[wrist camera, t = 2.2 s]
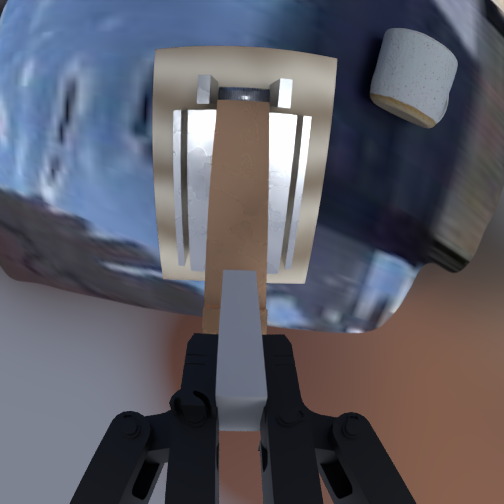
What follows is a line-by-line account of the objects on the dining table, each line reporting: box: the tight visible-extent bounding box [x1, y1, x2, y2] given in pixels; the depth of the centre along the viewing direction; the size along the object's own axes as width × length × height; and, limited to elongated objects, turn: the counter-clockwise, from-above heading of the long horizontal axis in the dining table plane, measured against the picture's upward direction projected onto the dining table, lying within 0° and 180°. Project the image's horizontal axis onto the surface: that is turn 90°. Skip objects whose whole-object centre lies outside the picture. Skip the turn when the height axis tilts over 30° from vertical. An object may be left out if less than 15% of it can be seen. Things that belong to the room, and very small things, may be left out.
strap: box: [203, 86, 270, 335], centre depth 16 cm, size 17×4×2 cm
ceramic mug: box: [370, 28, 458, 128], centre depth 19 cm, size 11×8×8 cm
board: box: [152, 46, 337, 284], centre depth 26 cm, size 24×16×2 cm, turn 176°
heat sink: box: [173, 75, 311, 274], centre depth 23 cm, size 20×11×6 cm, turn 176°
